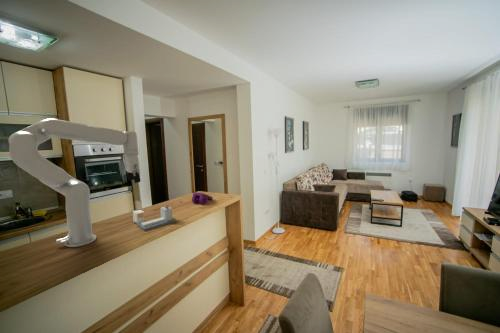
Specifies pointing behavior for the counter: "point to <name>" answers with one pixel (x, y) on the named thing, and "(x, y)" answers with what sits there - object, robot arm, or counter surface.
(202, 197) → the purple rounded lump
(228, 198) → the counter surface
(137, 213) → the rail module
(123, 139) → the robot arm
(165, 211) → the mounting board
